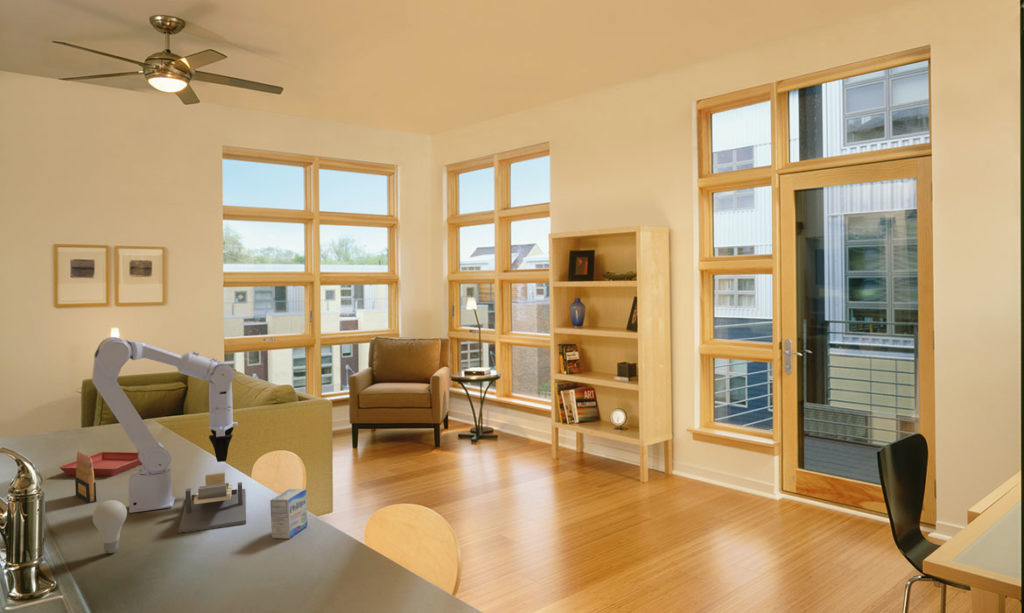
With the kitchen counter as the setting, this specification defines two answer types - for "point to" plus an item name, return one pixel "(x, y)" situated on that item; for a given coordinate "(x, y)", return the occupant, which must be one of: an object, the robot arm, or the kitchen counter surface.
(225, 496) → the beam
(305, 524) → the medicine box
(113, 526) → the lightbulb
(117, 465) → the red tray
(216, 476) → the block
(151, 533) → the kitchen counter surface
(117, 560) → the kitchen counter surface
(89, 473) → the ammunition clip
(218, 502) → the stand
